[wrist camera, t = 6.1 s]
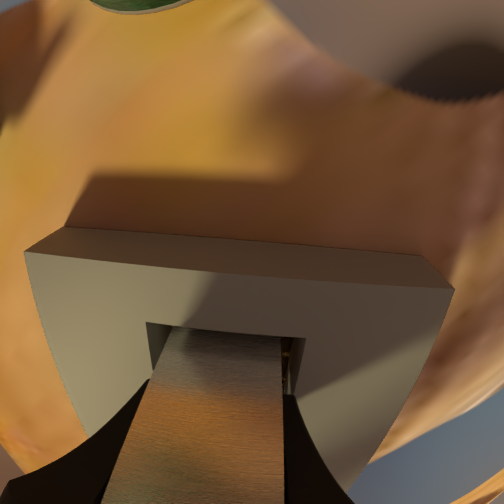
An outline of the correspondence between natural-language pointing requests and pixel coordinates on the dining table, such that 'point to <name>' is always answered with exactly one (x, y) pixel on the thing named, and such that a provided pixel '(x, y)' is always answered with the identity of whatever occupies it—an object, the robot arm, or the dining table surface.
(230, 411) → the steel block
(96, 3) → the canned tomato
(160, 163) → the dining table surface
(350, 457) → the well board
